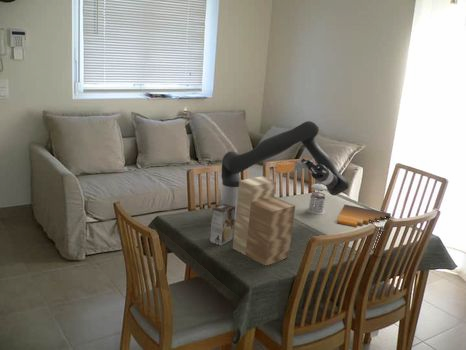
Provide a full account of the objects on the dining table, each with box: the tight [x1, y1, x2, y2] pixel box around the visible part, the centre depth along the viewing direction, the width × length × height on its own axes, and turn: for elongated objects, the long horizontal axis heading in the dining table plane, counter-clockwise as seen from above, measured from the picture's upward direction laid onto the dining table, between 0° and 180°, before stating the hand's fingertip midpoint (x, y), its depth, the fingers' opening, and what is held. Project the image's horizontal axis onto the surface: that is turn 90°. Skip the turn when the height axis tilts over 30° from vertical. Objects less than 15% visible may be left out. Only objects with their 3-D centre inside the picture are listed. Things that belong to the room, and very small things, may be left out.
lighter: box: [373, 225, 385, 249], centre depth 239 cm, size 8×3×10 cm, turn 117°
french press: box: [306, 183, 328, 215], centre depth 275 cm, size 10×12×25 cm
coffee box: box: [209, 204, 235, 246], centre depth 228 cm, size 9×6×16 cm
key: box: [275, 159, 315, 174], centre depth 229 cm, size 22×4×4 cm, turn 133°
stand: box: [232, 175, 296, 267], centre depth 218 cm, size 14×20×31 cm
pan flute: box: [336, 204, 392, 228], centre depth 272 cm, size 25×3×25 cm
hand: (304, 161), depth 233 cm, fingers closed on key, 2 cm apart
